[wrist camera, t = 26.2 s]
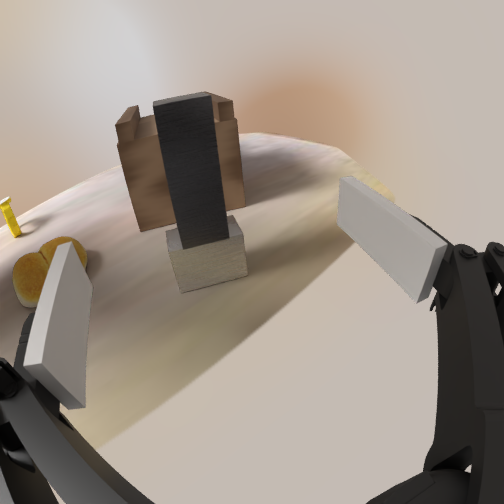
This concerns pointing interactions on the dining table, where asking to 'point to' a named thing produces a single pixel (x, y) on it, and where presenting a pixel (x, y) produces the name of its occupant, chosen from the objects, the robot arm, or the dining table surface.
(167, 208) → the slot board
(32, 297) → the bread roll
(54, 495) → the robot arm
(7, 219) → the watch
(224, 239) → the dark gray upright block
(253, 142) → the dining table surface
